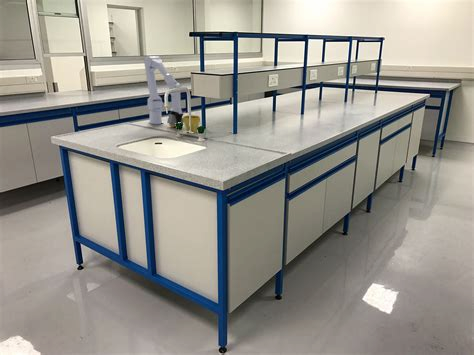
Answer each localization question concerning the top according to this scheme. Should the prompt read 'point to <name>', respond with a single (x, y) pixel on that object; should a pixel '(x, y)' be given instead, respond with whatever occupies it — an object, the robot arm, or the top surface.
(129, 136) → the top surface
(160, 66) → the robot arm
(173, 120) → the grey block
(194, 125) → the plant pot
